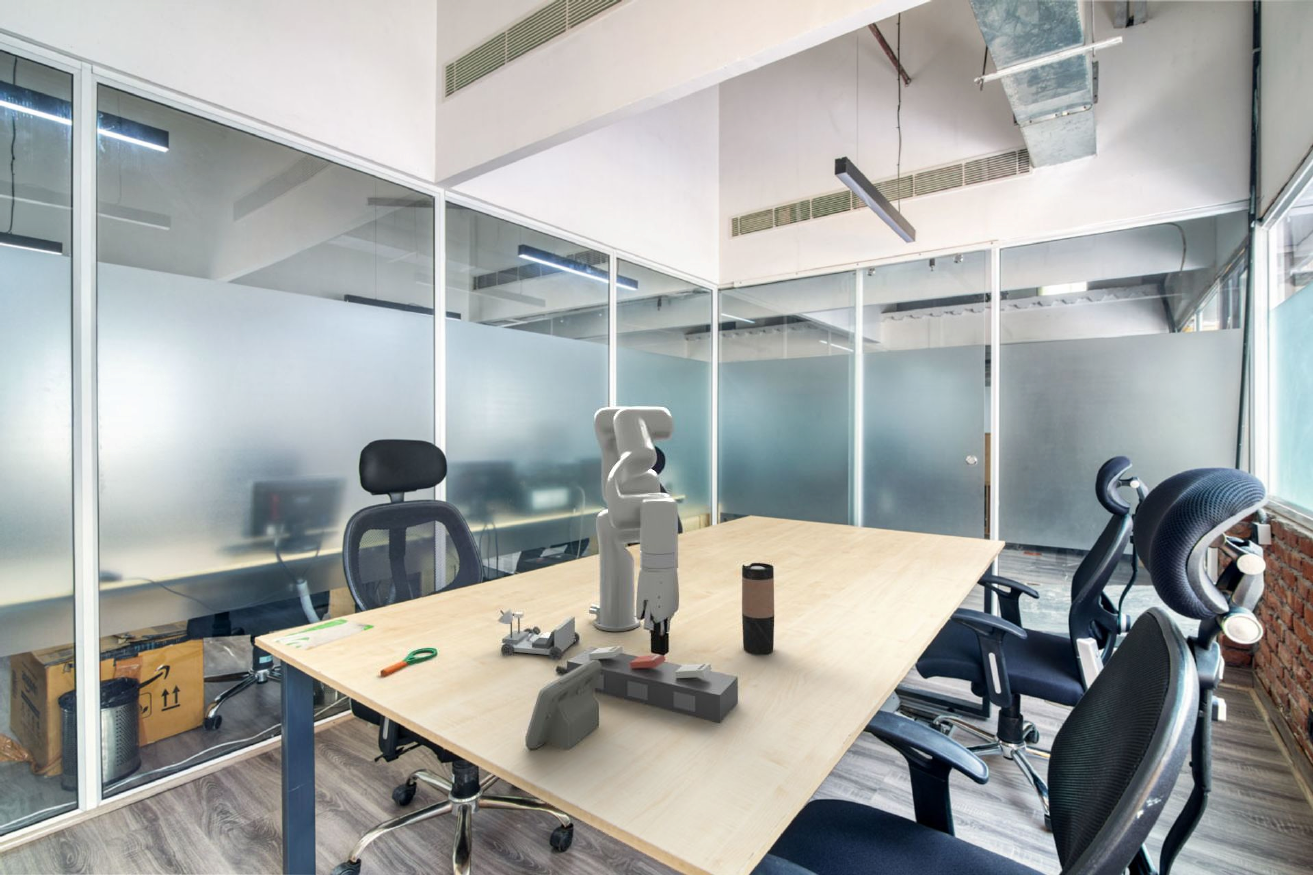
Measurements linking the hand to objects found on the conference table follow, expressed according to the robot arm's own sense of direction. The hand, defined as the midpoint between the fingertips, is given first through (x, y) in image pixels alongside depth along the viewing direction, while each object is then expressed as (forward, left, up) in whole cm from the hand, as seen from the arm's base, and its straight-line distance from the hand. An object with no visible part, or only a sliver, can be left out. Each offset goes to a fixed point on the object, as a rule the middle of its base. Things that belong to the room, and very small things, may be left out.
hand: (659, 652), depth 114 cm
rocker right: (+7, 0, -4) cm, 8 cm away
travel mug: (+9, +33, -9) cm, 35 cm away
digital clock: (-8, -20, -9) cm, 23 cm away
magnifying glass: (-59, -11, -9) cm, 61 cm away
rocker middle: (-2, 0, -4) cm, 4 cm away
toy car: (-39, +9, -9) cm, 41 cm away
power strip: (-6, 0, -9) cm, 10 cm away
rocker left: (-13, 0, -4) cm, 13 cm away
